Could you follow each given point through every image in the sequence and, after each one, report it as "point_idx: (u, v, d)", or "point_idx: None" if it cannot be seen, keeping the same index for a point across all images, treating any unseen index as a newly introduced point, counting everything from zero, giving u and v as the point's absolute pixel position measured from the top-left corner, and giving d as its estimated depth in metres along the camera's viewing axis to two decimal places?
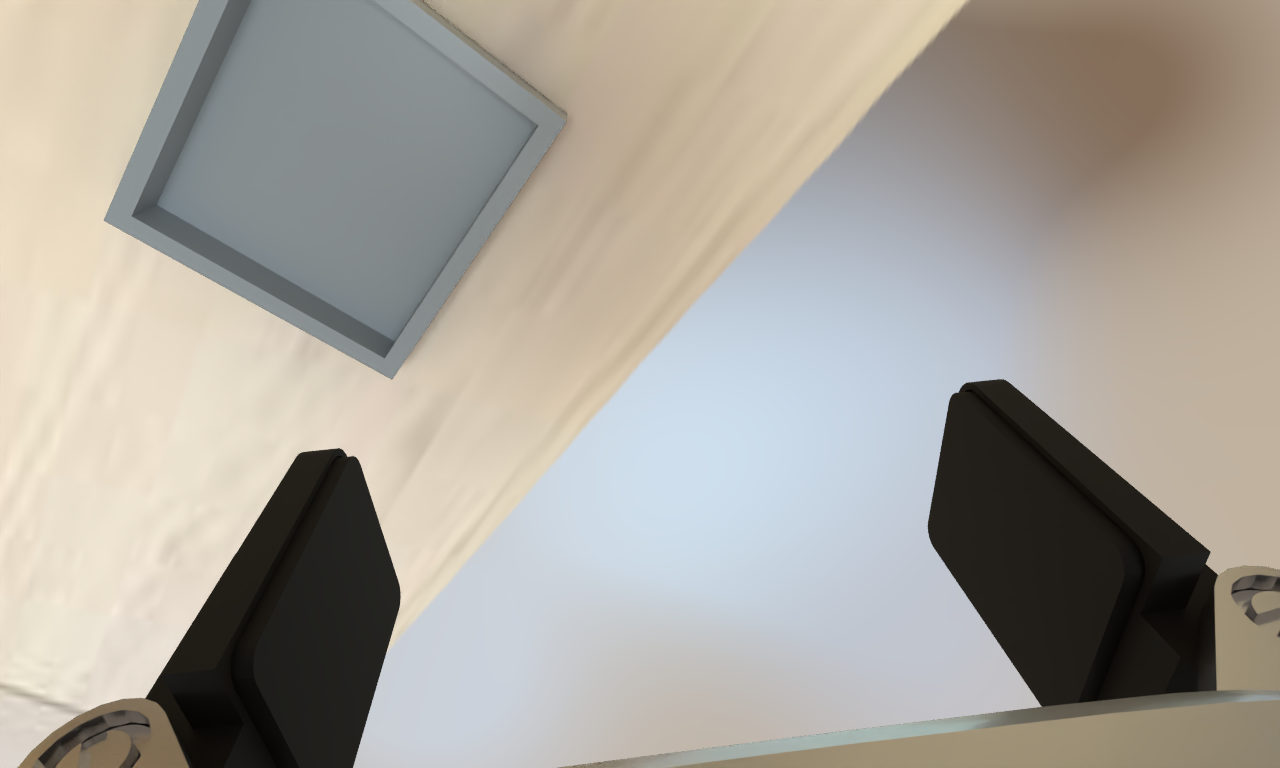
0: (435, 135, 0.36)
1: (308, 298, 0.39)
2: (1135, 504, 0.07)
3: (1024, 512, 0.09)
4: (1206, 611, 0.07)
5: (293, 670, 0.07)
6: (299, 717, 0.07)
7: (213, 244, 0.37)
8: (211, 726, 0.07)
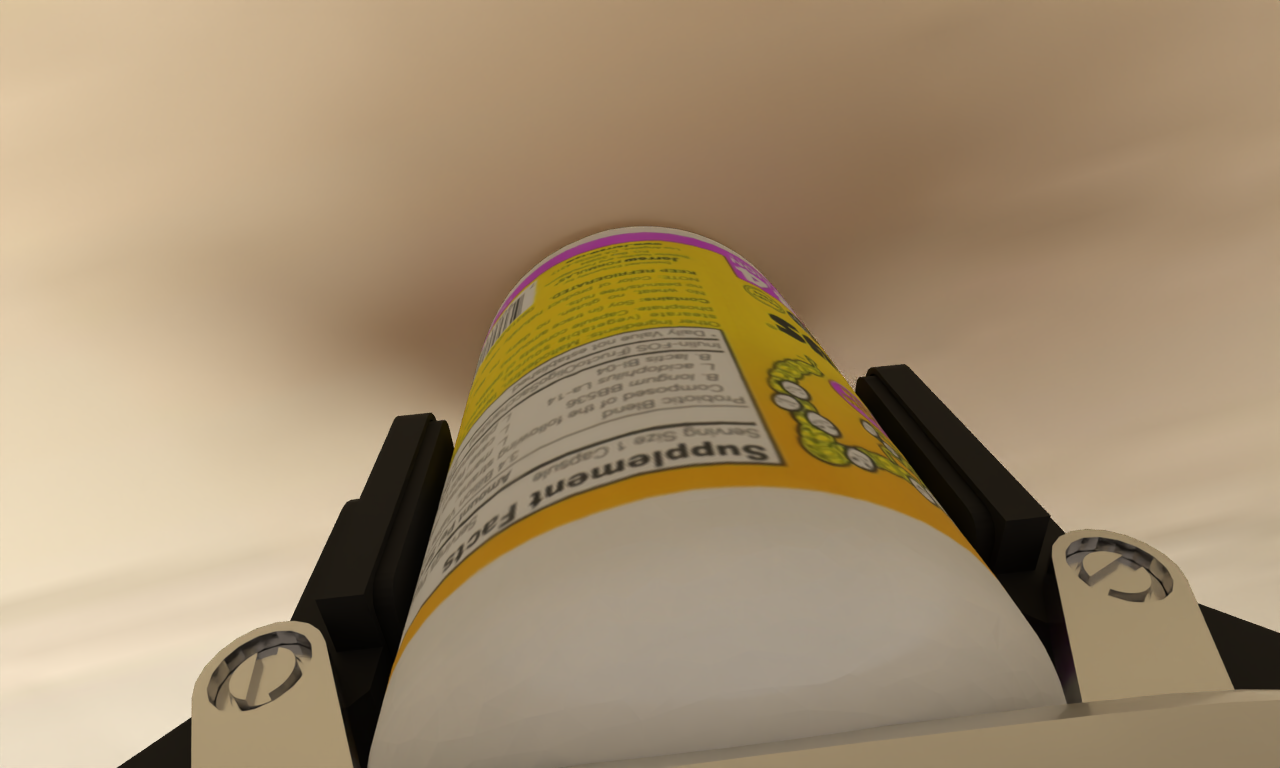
0: None
1: None
2: (994, 474, 0.08)
3: None
4: (1046, 570, 0.07)
5: None
6: None
7: None
8: (353, 649, 0.07)
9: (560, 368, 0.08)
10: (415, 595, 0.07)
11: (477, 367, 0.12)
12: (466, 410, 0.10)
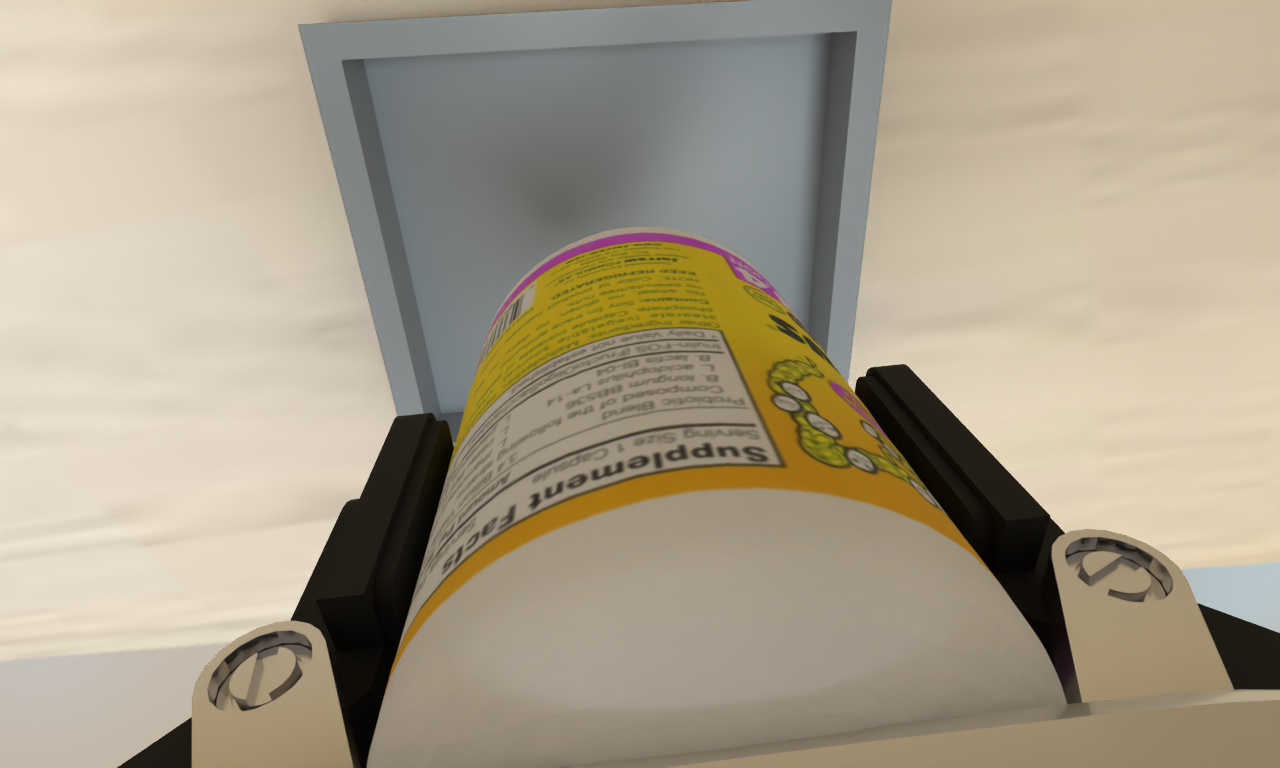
0: None
1: (412, 307, 0.26)
2: (994, 474, 0.08)
3: None
4: (1045, 570, 0.07)
5: None
6: None
7: (380, 163, 0.24)
8: (353, 649, 0.07)
9: (559, 369, 0.08)
10: (414, 597, 0.07)
11: (476, 368, 0.12)
12: (465, 411, 0.10)
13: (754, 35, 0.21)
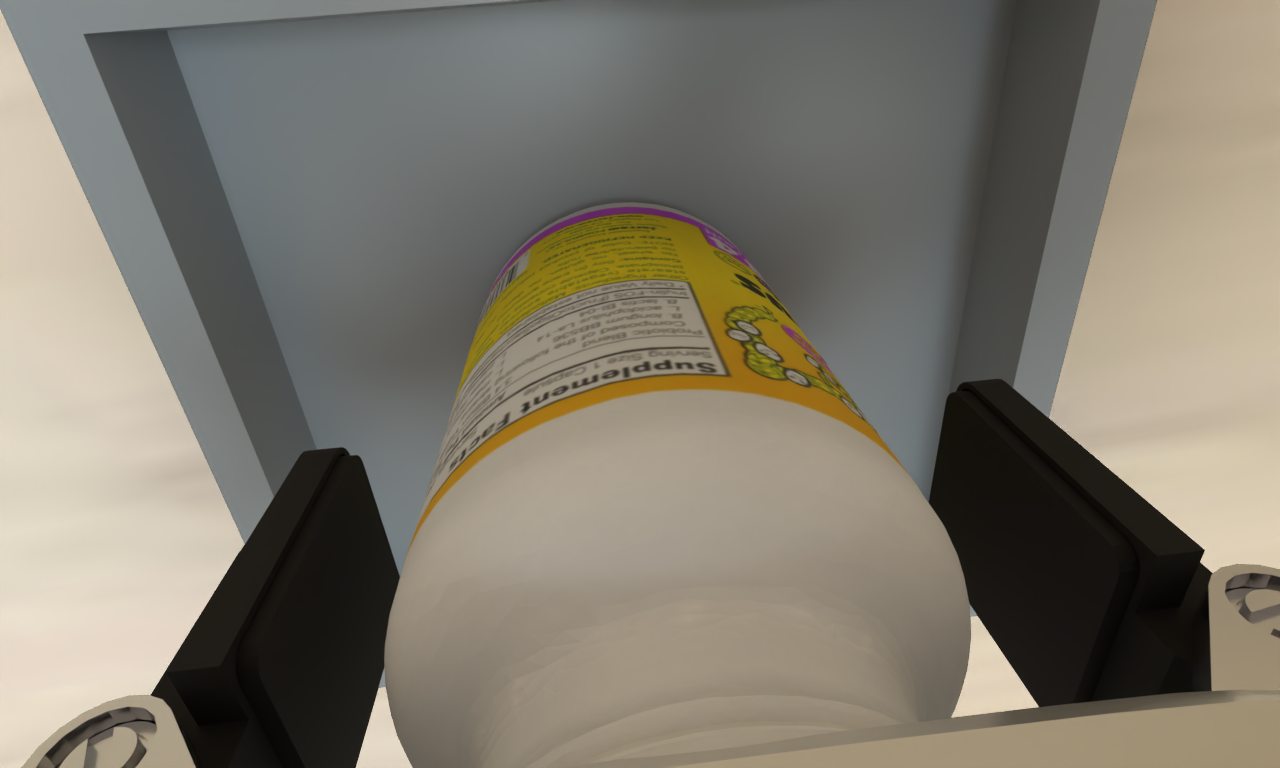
0: None
1: (301, 452, 0.16)
2: (1130, 502, 0.08)
3: (1020, 511, 0.09)
4: (1200, 609, 0.07)
5: (297, 667, 0.07)
6: (303, 714, 0.07)
7: (217, 224, 0.13)
8: (216, 723, 0.07)
9: (548, 314, 0.09)
10: (425, 498, 0.08)
11: (476, 328, 0.13)
12: (467, 361, 0.11)
13: None
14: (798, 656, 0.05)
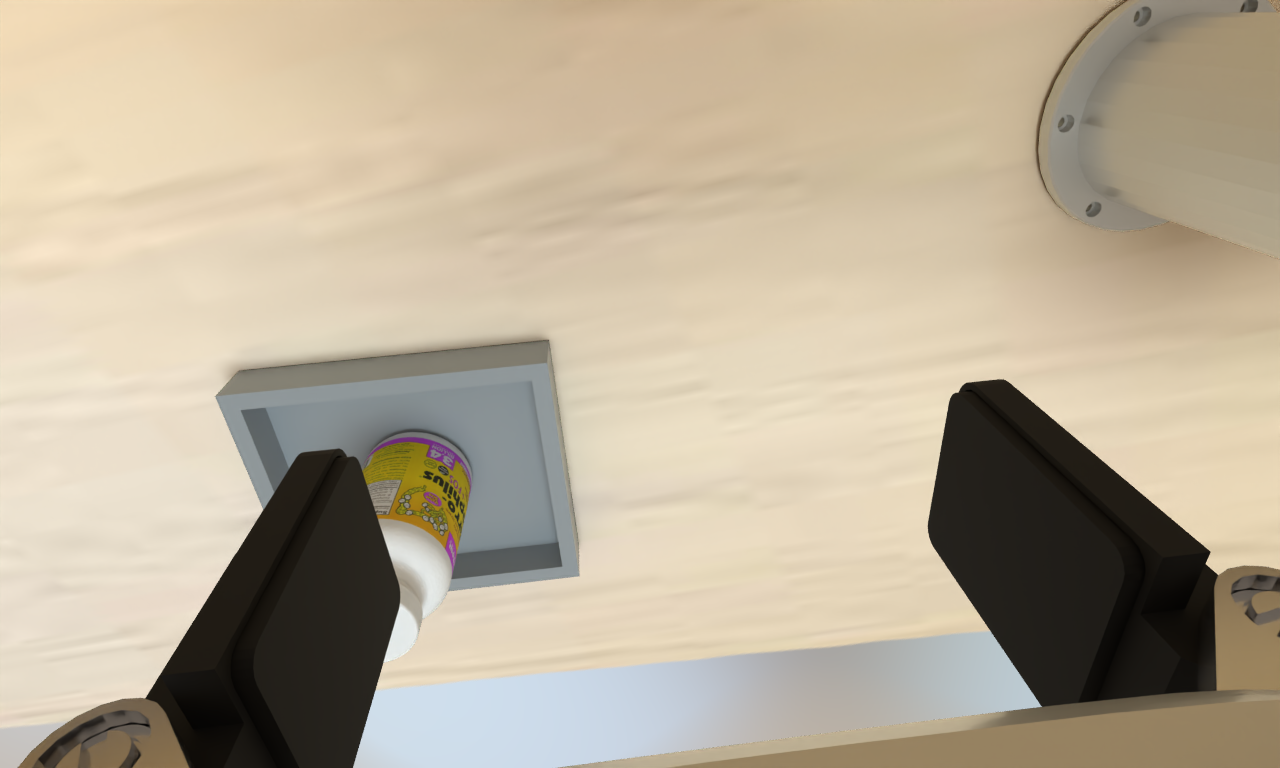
0: (494, 502, 0.45)
1: None
2: (1135, 504, 0.07)
3: (1024, 512, 0.09)
4: (1206, 611, 0.07)
5: (293, 670, 0.07)
6: (299, 717, 0.07)
7: (272, 443, 0.40)
8: (211, 726, 0.07)
9: None
10: None
11: None
12: None
13: (472, 385, 0.38)
14: None
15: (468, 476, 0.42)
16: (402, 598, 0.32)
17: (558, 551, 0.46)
